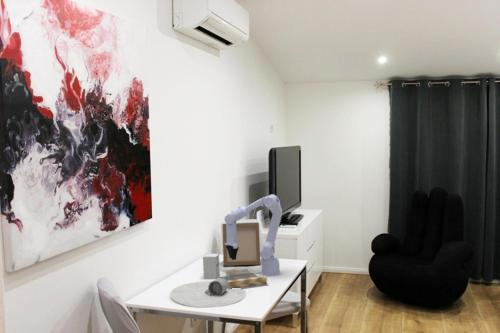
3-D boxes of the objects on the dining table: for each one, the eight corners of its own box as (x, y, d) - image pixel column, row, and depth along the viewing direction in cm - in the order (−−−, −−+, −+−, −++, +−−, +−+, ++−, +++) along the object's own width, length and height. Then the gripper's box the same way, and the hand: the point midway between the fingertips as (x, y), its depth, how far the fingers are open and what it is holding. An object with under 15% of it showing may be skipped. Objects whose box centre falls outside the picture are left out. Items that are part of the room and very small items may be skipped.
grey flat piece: (247, 274, 263) (246, 269, 263) (251, 278, 255) (251, 272, 255) (226, 277, 259) (225, 271, 259) (229, 281, 251) (229, 275, 251)
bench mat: (253, 273, 266) (253, 272, 266) (268, 286, 241) (268, 285, 241) (218, 278, 260) (218, 277, 260) (230, 291, 235) (230, 290, 235)
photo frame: (260, 266, 282) (258, 224, 280) (223, 267, 283) (221, 225, 281) (260, 259, 296) (258, 220, 295) (225, 261, 297) (223, 221, 296)
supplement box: (216, 280, 257) (215, 256, 256) (203, 279, 258) (202, 256, 257) (220, 276, 264) (219, 253, 263) (207, 275, 265) (206, 253, 265)
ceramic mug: (229, 291, 235) (228, 276, 234) (223, 297, 227) (222, 281, 227) (209, 291, 238) (208, 275, 238) (202, 296, 230) (201, 280, 230)
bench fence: (263, 281, 249) (263, 273, 248) (266, 284, 243) (266, 276, 243) (226, 286, 243) (226, 278, 242) (229, 289, 238) (228, 281, 237)
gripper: (221, 233, 272) (222, 256, 273) (228, 237, 258) (229, 262, 259) (233, 232, 274) (234, 255, 275) (240, 236, 261) (241, 261, 261)
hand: (232, 258), depth 267 cm, fingers open, 4 cm apart
